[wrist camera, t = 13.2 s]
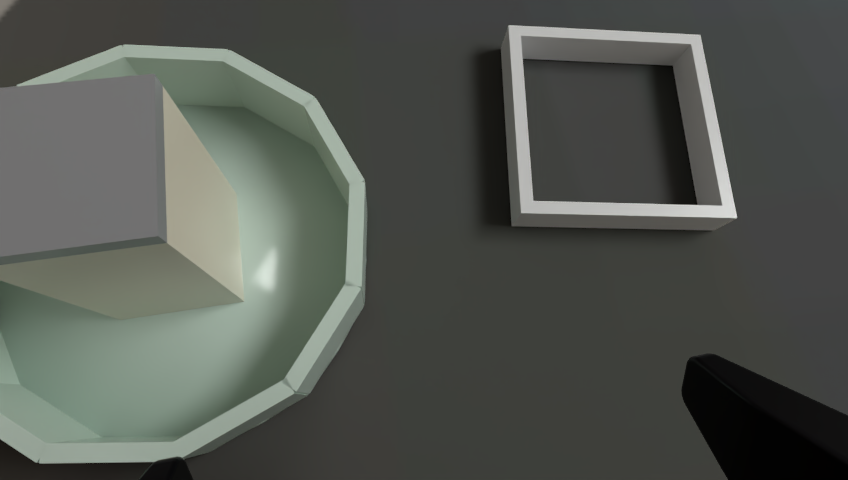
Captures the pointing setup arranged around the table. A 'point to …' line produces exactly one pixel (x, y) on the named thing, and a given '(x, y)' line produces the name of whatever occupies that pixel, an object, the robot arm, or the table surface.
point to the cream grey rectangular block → (113, 200)
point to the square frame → (696, 117)
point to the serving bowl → (210, 326)
